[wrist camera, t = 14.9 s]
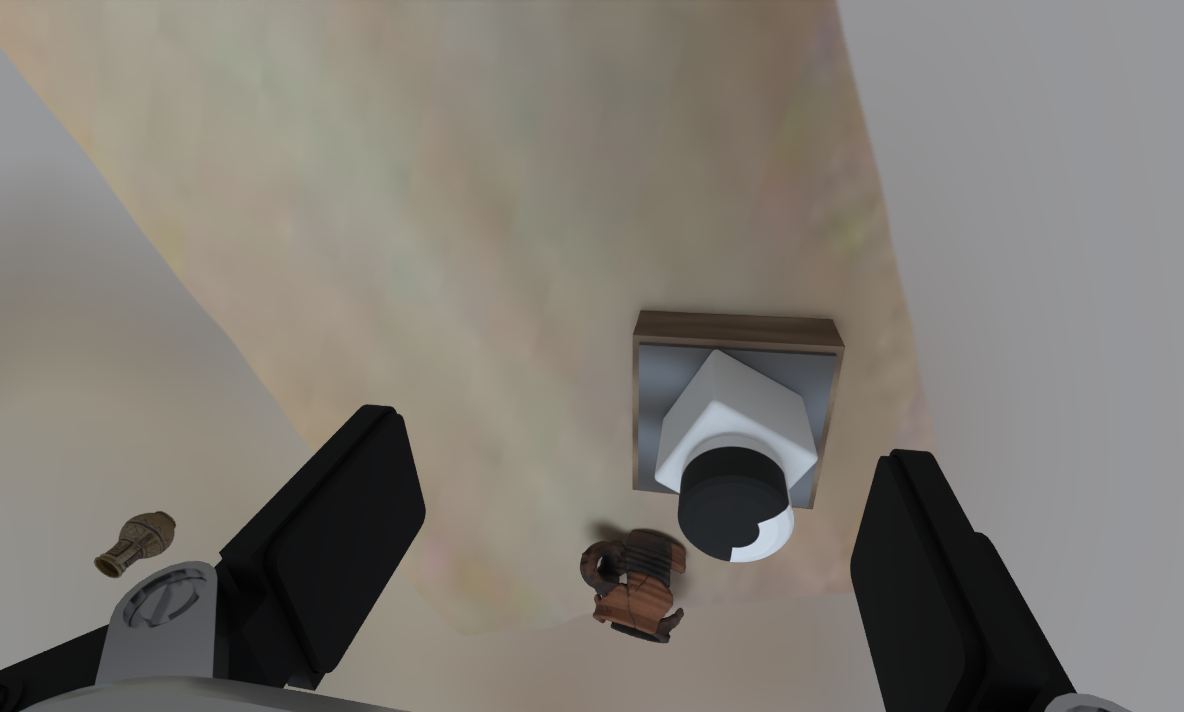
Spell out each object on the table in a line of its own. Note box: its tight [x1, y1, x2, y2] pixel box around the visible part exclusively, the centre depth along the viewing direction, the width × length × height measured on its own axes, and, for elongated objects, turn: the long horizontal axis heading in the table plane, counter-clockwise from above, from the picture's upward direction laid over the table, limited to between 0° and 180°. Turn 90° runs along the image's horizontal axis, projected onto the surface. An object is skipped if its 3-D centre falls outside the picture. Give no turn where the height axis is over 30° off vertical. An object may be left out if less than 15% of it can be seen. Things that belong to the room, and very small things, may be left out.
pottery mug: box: [580, 531, 686, 643], centre depth 53 cm, size 12×9×8 cm
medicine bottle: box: [655, 350, 818, 562], centre depth 34 cm, size 7×7×12 cm
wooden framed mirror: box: [633, 311, 845, 509], centre depth 42 cm, size 14×14×5 cm
